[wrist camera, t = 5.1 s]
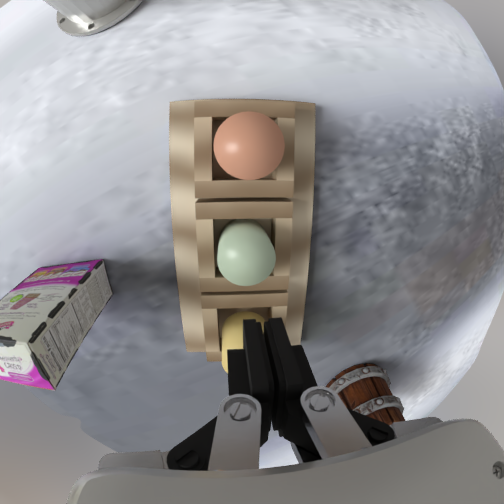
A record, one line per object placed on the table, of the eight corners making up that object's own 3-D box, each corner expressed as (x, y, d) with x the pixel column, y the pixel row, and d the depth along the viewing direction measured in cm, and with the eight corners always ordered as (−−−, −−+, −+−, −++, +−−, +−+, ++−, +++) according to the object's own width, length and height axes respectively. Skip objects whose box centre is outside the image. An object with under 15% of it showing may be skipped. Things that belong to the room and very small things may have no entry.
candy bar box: (50, 301, 29) (-16, 377, 14) (38, 267, 28) (-40, 333, 12) (116, 296, 30) (55, 394, 14) (105, 257, 28) (24, 342, 13)
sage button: (218, 218, 26) (216, 231, 22) (267, 217, 27) (276, 230, 22) (219, 264, 28) (218, 286, 23) (266, 263, 28) (274, 285, 24)
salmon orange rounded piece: (216, 121, 21) (213, 111, 17) (273, 121, 22) (285, 112, 17) (216, 175, 23) (213, 180, 18) (272, 175, 23) (284, 180, 19)
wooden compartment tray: (172, 104, 24) (164, 96, 20) (311, 105, 25) (323, 98, 21) (187, 345, 33) (184, 365, 29) (297, 341, 34) (304, 360, 30)
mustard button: (220, 312, 27) (220, 342, 22) (268, 310, 28) (276, 339, 23) (223, 348, 29) (223, 380, 24) (266, 346, 29) (273, 377, 24)
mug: (356, 347, 35) (412, 427, 22) (394, 366, 41) (438, 425, 28) (301, 397, 38) (337, 477, 25) (348, 407, 44) (382, 467, 31)
